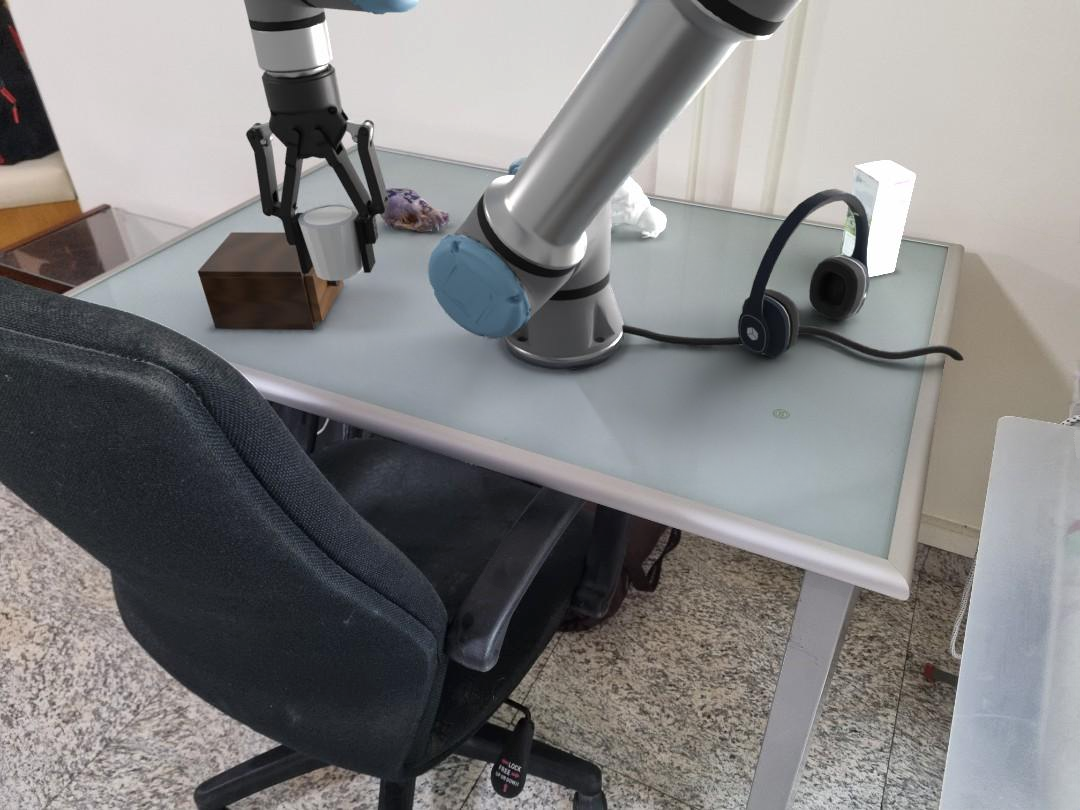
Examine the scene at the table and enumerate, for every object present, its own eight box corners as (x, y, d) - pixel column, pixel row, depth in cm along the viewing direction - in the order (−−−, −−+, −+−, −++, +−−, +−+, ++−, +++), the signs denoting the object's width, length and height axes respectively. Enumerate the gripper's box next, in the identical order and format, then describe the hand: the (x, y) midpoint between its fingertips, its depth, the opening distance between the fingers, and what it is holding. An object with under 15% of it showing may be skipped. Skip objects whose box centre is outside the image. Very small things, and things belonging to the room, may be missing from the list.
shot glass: (356, 284, 97) (345, 228, 93) (301, 281, 98) (287, 226, 94) (376, 257, 103) (366, 203, 98) (323, 255, 104) (312, 201, 100)
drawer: (352, 284, 119) (343, 240, 115) (331, 322, 111) (321, 276, 107) (258, 283, 120) (247, 240, 116) (231, 321, 112) (218, 275, 108)
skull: (460, 221, 136) (452, 187, 132) (430, 245, 132) (420, 210, 128) (407, 209, 142) (397, 176, 138) (376, 231, 138) (365, 198, 134)
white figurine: (616, 162, 132) (680, 186, 126) (611, 212, 137) (672, 237, 132) (591, 175, 128) (656, 200, 122) (587, 225, 134) (649, 252, 128)
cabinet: (337, 287, 120) (326, 232, 115) (313, 330, 111) (300, 271, 106) (246, 287, 122) (231, 232, 117) (215, 328, 112) (197, 271, 107)
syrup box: (895, 272, 118) (919, 172, 110) (859, 279, 117) (880, 179, 108) (870, 255, 123) (891, 158, 114) (835, 262, 121) (854, 164, 113)
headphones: (827, 296, 113) (852, 165, 103) (871, 316, 109) (902, 180, 98) (725, 348, 104) (741, 209, 93) (769, 372, 99) (791, 229, 89)
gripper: (398, 55, 89) (425, 252, 103) (218, 61, 91) (269, 254, 104) (383, 74, 83) (414, 281, 97) (191, 80, 85) (248, 283, 98)
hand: (339, 267), depth 100 cm, fingers closed on shot glass, 7 cm apart
